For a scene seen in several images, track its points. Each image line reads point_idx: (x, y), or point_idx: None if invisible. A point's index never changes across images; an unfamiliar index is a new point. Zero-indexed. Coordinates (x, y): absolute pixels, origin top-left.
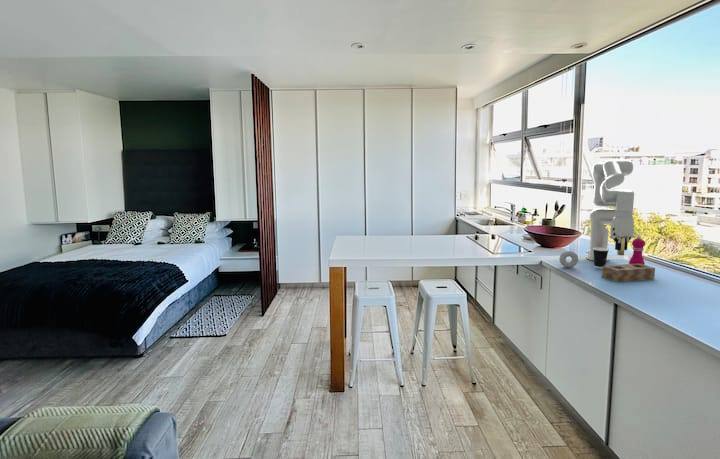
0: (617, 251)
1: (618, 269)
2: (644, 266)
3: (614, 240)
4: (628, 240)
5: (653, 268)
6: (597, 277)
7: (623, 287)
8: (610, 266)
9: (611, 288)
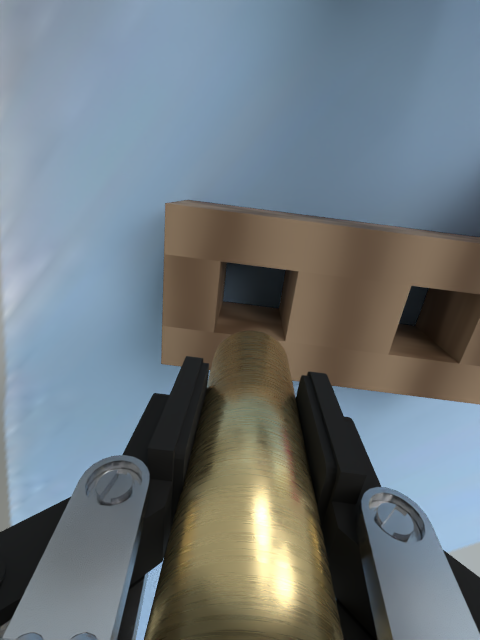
0: (216, 363)
1: (194, 346)
2: (471, 351)
3: (28, 536)
4: (375, 636)
5: (474, 401)
6: (141, 204)
7: (140, 407)
8: (210, 250)
9: (69, 399)
